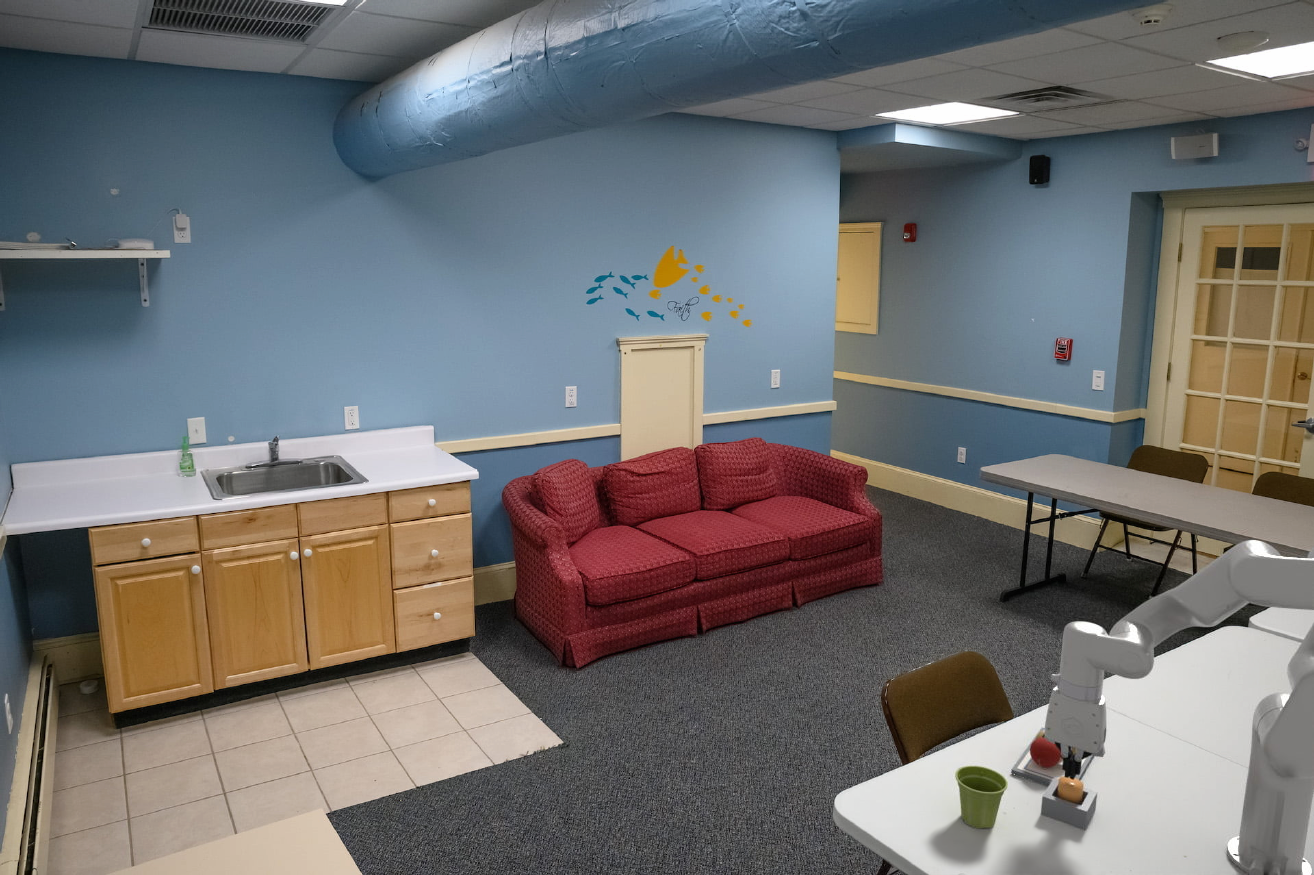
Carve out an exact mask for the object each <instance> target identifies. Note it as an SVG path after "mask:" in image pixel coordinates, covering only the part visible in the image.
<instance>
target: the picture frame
mask: <svg viewBox="0 0 1314 875" xmlns="http://www.w3.org/2000/svg"><path fill="white" fill-rule="evenodd" d="M1044 730H1045V727H1041V728H1040V729H1039V731H1038V732H1037V734H1036V735H1035V736H1034V738H1033V739H1032V741H1031V742H1030V743H1029V745H1028V746H1027V747H1026V749H1025V750H1024V752H1023V753H1022V754H1021V756H1020V757H1019V758H1018V760H1016V762H1015V764H1014V765H1013V767H1012V768H1011V771H1010V773H1012V774H1011V775H1013V774H1015V776H1016V775H1017V777H1019V776H1020V778H1022V777H1024V778H1023V779H1025V778H1026V779H1025V780H1028V779H1029V781H1031V780H1032V782H1034V783H1038V784H1041V785H1043V786H1046V787H1048V786H1049V785H1050V783H1051V782H1052V780H1053V779H1054V778H1056V779H1059V778H1061V777H1064V776H1065V770H1062V766H1063V759H1062V758H1060V761H1059V762H1058V763H1057V764H1056V765H1055V766H1053V767H1049V768H1043V767H1041V766H1039V765H1038V764H1036V763H1035V762H1034V761H1033V759H1032V757H1031V755H1030V746H1031V744H1032V742H1033V741H1034V740H1036V737H1037V735H1038V733H1039V732H1041V731H1044ZM1076 751H1077V749H1076ZM1075 753H1076V752H1075ZM1094 757H1095V756H1089V757H1087V758H1085V759H1083V760H1082V764H1081V772H1080V774H1079V775H1076V776H1075V778H1076V779H1078V780H1080V781H1081V780H1082V779H1083V777H1084V775H1085V773H1086V771H1087V770H1088V768H1089V766H1090V764H1091V763H1092V761H1093V760H1094ZM1069 777H1070V776H1069Z"/></svg>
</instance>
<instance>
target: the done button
mask: <svg viewBox="0 0 1314 875" xmlns="http://www.w3.org/2000/svg"><path fill="white" fill-rule="evenodd" d="M1083 788H1085V787H1084V783H1083V782H1082V781H1081V780H1078V779H1076V778H1074V780H1072V779H1070V778H1066V777H1061V778H1059V782H1058V792H1057V795H1058V797H1059V798H1060V799H1063V800H1066V801H1069V802H1072V803H1075V804H1077V803H1080V802H1082V797H1083Z"/></svg>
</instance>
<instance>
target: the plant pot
mask: <svg viewBox="0 0 1314 875" xmlns="http://www.w3.org/2000/svg"><path fill="white" fill-rule="evenodd" d="M955 780H956V781H957V782H956V783H957V786H958V789H959V790H958V791H959V801H960V813H961V814H960V816H961V818H962V819H963V821H964V823H965V824H967V825H969V826H970V825H971V826H970V827H973V828H976V829H983V828H985V829H991V828H992V827H994V826H995V824H996V821H997V817H998V812H999V809H1000V805H1001V801H1002V797H1003V795H1004V794H1005V791H1007V789H1008V786H1009V785H1008V784H1009V783H1008V780H1007V778H1006V777H1004V775H1002V774H1001V773H999V771H998V772H997V771H996V770H995V769H992V768H989V767H985V766H981V765H980V766H979V765H965V766H962V767H960V768H958V769H957V770H956V771H955Z"/></svg>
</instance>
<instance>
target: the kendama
mask: <svg viewBox="0 0 1314 875" xmlns="http://www.w3.org/2000/svg"><path fill="white" fill-rule="evenodd" d="M1038 732H1039V731H1038ZM1038 732H1037V733H1038ZM1036 735H1037V734H1036ZM1044 735H1045V733H1044V731H1041V732H1039V733H1038V735H1037V737H1036V740H1034V741H1033V742H1032V741H1031V742H1032V744H1031V746H1030V755H1031V757H1032V759H1033V761H1034V762H1035V763H1036V764H1038V765H1039V766H1041V767H1043V768H1049V767H1053V766H1055V765H1056V764H1057V763H1058V762H1059V761H1060V758H1062V759H1063V756H1062V754H1061V752H1060V750H1059V749H1058V748H1057V746H1056V745H1055V744H1054V743H1051V742H1049V741H1048V740H1046V739H1045V738H1044ZM1072 752H1073V754H1074V755H1075V752H1076V748H1073V747H1072Z"/></svg>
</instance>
